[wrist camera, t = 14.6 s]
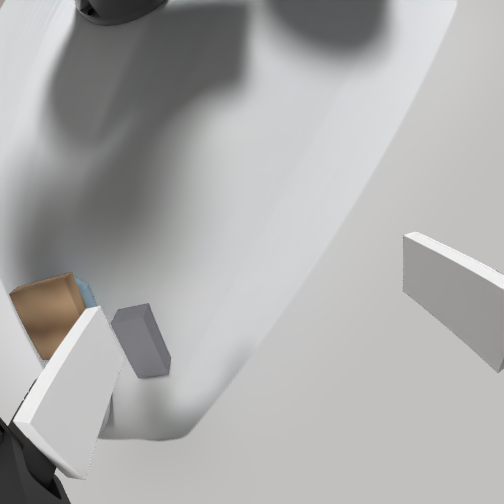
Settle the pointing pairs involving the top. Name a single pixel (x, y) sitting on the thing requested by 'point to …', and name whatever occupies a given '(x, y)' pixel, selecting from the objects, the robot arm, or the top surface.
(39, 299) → the board
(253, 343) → the top surface
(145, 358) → the block
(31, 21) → the top surface
